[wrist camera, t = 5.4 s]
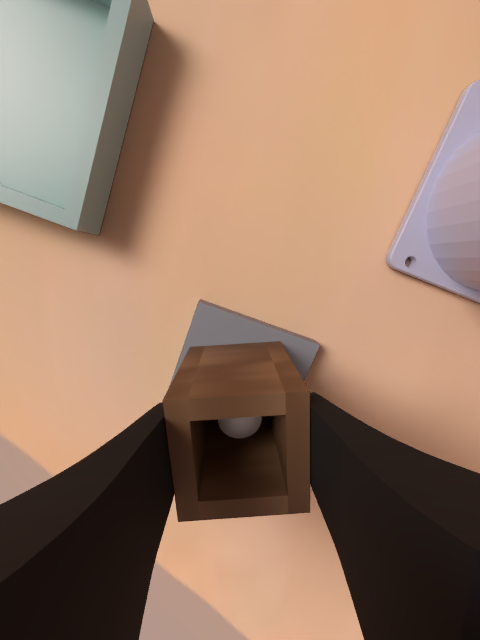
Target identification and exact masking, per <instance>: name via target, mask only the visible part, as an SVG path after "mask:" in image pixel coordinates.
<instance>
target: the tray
mask: <svg viewBox="0 0 480 640" xmlns="http://www.w3.org/2000/svg"><path fill="white" fill-rule="evenodd" d="M153 22H154V19H153V16H152V13H151V10H150V7H149V4H148V1H147V0H0V203H3V204H5V205H8V206H11V207H14V208H16V209H19V210H22V211H25V212H27V213H30V214H33V215H35V216H38V217H41V218H44V219H46V220H49V221H52V222H55V223H57V224H60V225H63V226H65V227H68V228H71V229H74V230H76V231H81V232H86V233H91V234H96V235H99V234H100V230H101V226H102V222H103V218H104V214H105V210H106V206H107V202H108V198H109V194H110V191H111V187H112V183H113V179H114V175H115V171H116V167H117V163H118V159H119V155H120V151H121V147H122V143H123V139H124V136H125V132H126V128H127V124H128V120H129V116H130V112H131V108H132V104H133V100H134V96H135V92H136V88H137V84H138V81H139V77H140V73H141V69H142V65H143V61H144V57H145V53H146V49H147V45H148V41H149V37H150V33H151V30H152V26H153Z"/></svg>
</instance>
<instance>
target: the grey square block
mask: <svg viewBox="0 0 480 640" xmlns="http://www.w3.org/2000/svg"><path fill="white" fill-rule="evenodd" d="M275 341H280V342H281V344H282V345H283V347H284V349H285V350H286V352H287V354H288V355H289V357H290V359H291V361H292V362H293V364H294V366H295V367H296V369H297V371H298V372H299V374H300V376H301V377H302V379H303V381H304V380H305V378H306V375H307V373H308V371H309V369H310V366H311V364H312V362H313V360H314V357H315V355H316V353H317V351H318V348H319V346H320V345H319V344H318V343H317V342H316V341H315V340H312V339H310V338H307V337H304V336H301V335H298V334H296V333H293V332H290V331H287V330H285V329H282V328H279V327H276V326H273V325H271V324H268V323H265V322H262V321H259V320H257V319H254V318H251V317H248V316H245V315H243V314H240V313H237V312H234V311H232V310H229V309H226V308H223V307H220V306H218V305H215V304H212V303H209V302H206V301H204V300H201V299H200V300H199V302H198V304H197V307H196V310H195V313H194V316H193V319H192V322H191V325H190V328H189V331H188V334H187V337H186V339H185V342H184V345H183V348H182V351H181V354H180V357H179V360H178V363H177V366H176V369H175V372H174V375H173V378H172V381H173V379H174V377H175V375H176V373H177V371H178V369H179V367H180V365H181V363H182V361H183V359H184V357H185V355H186V353H187V352H188V350H189V348H190V347H195V346H211V345H227V344H243V343H259V342H275ZM172 381H171V383H172ZM171 383H170V385H171ZM169 387H170V386H169ZM261 419H262V417H261V416H259V417H244V418H229V419H218V424H219V427H220V429H221V430H222V431H223V432H224V433H225V434H226V435H228V436H230V437H233V438H246V437H249V436H251V435H252V434H254V433H255V432H256V431H257V430H258V428H259V427H260V424H261Z"/></svg>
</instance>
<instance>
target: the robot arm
mask: <svg viewBox="0 0 480 640" xmlns="http://www.w3.org/2000/svg"><path fill="white" fill-rule="evenodd" d="M407 257H409V258H410V260H411V263H410V265H409V266H408V267H407V266H406V265H405V260H406V259H407ZM386 263H387V264H388V266H389V267H390V268H392V269H395V270H397V271H400V272H402V273H405V274H407V275H410V276H412V277H415V278H417V279H420V280H422V281H425V282H427V283H430V284H432V285H435V286H437V287H440V288H442V289H445V290H447V291H450V292H452V293H455V294H457V295H460V296H462V297H465V298H467V299H470V300H472V301H475V302H477V303H480V80H477V81H475V82H473V83H472V84H471V85H469V86H468V87H467V88H465V90H464V91H463V93H462V94H461V97H460V99H459V101H458V103H457V105H456V107H455V109H454V112H453V114H452V116H451V118H450V120H449V122H448V124H447V127H446V129H445V131H444V133H443V135H442V137H441V140H440V142H439V144H438V146H437V148H436V150H435V152H434V155H433V157H432V159H431V161H430V163H429V165H428V168H427V170H426V172H425V174H424V176H423V178H422V180H421V183H420V185H419V187H418V189H417V191H416V193H415V196H414V198H413V200H412V202H411V204H410V206H409V208H408V211H407V213H406V215H405V217H404V219H403V221H402V224H401V226H400V228H399V230H398V232H397V234H396V236H395V239H394V241H393V243H392V245H391V247H390V249H389V251H388V254H387V257H386ZM310 484H311V487H312V490H313V492H314V495H315V497H316V499H317V502H318V504H319V507H320V509H321V512H322V514H323V517H324V519H325V522H326V524H327V527H328V529H329V532H330V534H331V537H332V539H333V542H334V544H335V547H336V550H337V553H338V555H339V558H340V561H341V565H342V568H343V571H344V574H345V578H346V581H347V584H348V587H349V590H350V594H351V597H352V600H353V603H354V607H355V610H356V614H357V617H358V620H359V624H360V627H361V630H362V634H363V637H364V640H480V474H479V473H476V472H474V471H471V470H468V469H465V468H462V467H460V466H457V465H454V464H452V463H449V462H446V461H444V460H441V459H438V458H436V457H433V456H431V455H429V454H426V453H424V452H421V451H419V450H417V449H415V448H413V447H410V446H408V445H406V444H404V443H402V442H399V441H397V440H395V439H393V438H391V437H389V436H387V435H385V434H383V433H381V432H380V431H378V430H376V429H374V428H372V427H370V426H369V425H367V424H365V423H363V422H362V421H360V420H358V419H356V418H355V417H353V416H351V415H350V414H348V413H347V412H345V411H343V410H342V409H340V408H339V407H337V406H336V405H334V404H332V403H331V402H329V401H328V400H326V399H325V398H323V397H321V396H320V395H318V394H316V393H310ZM173 497H174V486H173V478H172V470H171V462H170V455H169V447H168V439H167V431H166V423H165V416H164V408H163V403H159V404H157V405H156V406H154V407H153V408H152V409H150V410H149V411H148V412H147V413H145V414H144V415H143V416H141V417H140V418H139V419H138V420H136V421H135V422H134V423H133V424H131V425H130V426H129V427H127V428H126V429H125V430H124V431H122V432H121V433H120V434H118V435H117V436H115V437H114V438H113V439H111V440H110V441H108V442H107V443H106V444H104V445H103V446H101V447H100V448H99V449H97V450H96V451H94V452H93V453H91V454H90V455H88V456H87V457H85V458H84V459H82V460H81V461H79V462H77V463H76V464H74V465H73V466H71V467H69V468H68V469H66V470H64V471H63V472H61V473H59V474H57V475H56V476H54V477H52V478H50V479H49V480H47V481H45V482H43V483H41V484H39V485H37V486H36V487H34V488H31V489H30V490H28V491H26V492H24V493H22V494H20V495H18V496H16V497H14V498H13V499H11V500H9V501H7V502H5V503H3V504H0V640H139V635H140V630H141V624H142V619H143V614H144V609H145V605H146V600H147V595H148V590H149V585H150V580H151V575H152V571H153V567H154V563H155V559H156V555H157V551H158V548H159V545H160V541H161V538H162V534H163V531H164V528H165V524H166V521H167V517H168V514H169V511H170V507H171V504H172V500H173Z"/></svg>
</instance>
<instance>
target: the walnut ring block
mask: <svg viewBox="0 0 480 640" xmlns="http://www.w3.org/2000/svg"><path fill="white" fill-rule="evenodd" d="M163 408H164V416H165V423H166V431H167V439H168V447H169V455H170V462H171V470H172V478H173V486H174V494H175V501H176V509H177V517H178V522H183V521H197V520H211V519H225V518H239V517H253V516H267V515H281V514H295V513H310V391H309V389H308V387H307V386H306V384H305V382H304V381H303V379H302V377H301V376H300V374H299V372H298V371H297V369H296V367H295V366H294V364H293V362H292V361H291V359H290V357H289V355H288V354H287V352H286V350H285V349H284V347H283V345H282V344H281V342H280V341H275V342H259V343H243V344H227V345H211V346H195V347H190V348H189V350H188V352H187V353H186V355H185V357H184V359H183V361H182V363H181V365H180V367H179V369H178V371H177V373H176V375H175V377H174V379H173V381H172V383H171V385H170V387H169V389H168V391H167V393H166V395H165V397H164V399H163ZM259 416H261V417H262V419H261V424H260V427H259V428H258V430H257V431H256V432H255V433H254V434H252V435H251V436H249V437H246V438H233V437H230V436H228V435H226V434H225V433H224V432H223V431H222V430H221V429H220V427H219V424H218V419H229V418H244V417H259Z"/></svg>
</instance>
